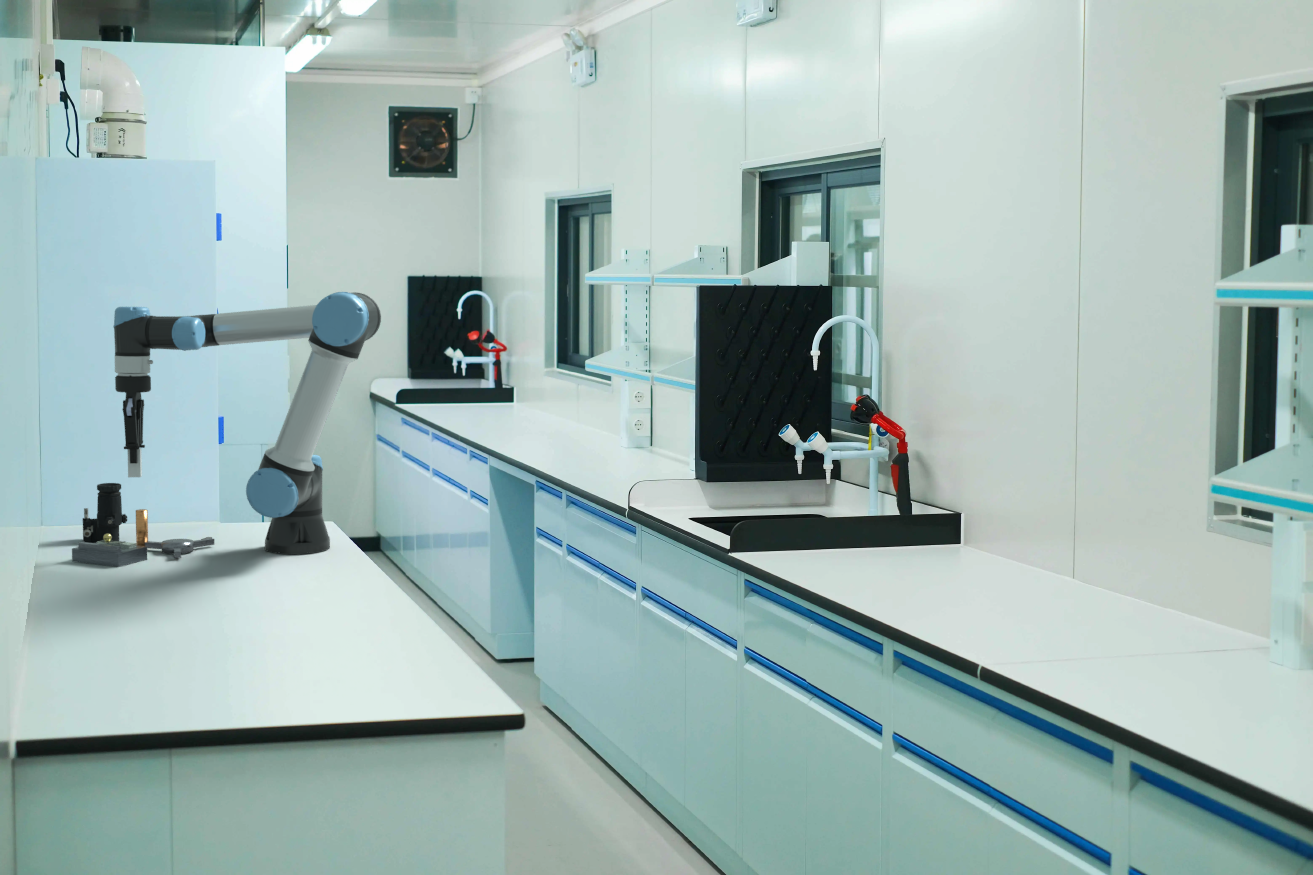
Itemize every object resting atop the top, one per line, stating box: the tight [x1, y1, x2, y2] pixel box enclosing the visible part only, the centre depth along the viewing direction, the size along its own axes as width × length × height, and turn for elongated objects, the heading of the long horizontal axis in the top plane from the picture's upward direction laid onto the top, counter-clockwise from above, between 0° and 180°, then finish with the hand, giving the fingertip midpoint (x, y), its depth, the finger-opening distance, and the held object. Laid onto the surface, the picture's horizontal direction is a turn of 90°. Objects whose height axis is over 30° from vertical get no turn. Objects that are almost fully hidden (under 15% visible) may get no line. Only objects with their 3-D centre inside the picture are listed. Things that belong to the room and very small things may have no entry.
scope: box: [82, 482, 128, 543], centre depth 311 cm, size 8×14×10 cm
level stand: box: [71, 534, 148, 568], centre depth 290 cm, size 13×9×6 cm
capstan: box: [135, 508, 215, 559], centre depth 301 cm, size 16×17×9 cm
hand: (135, 476), depth 294 cm, fingers closed
